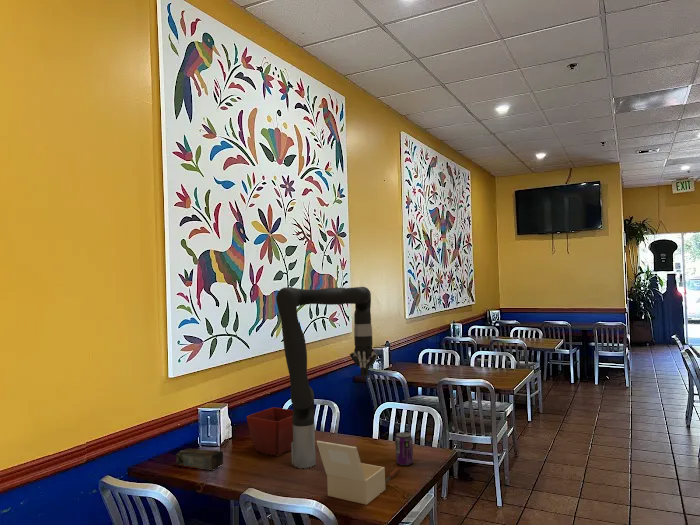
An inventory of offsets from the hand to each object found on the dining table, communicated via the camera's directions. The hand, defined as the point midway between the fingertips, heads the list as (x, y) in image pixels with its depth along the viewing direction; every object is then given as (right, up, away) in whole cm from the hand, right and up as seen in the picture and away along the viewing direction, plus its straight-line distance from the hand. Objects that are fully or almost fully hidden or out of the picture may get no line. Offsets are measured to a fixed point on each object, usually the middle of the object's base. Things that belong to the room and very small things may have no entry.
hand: (364, 376), depth 209 cm
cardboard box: (-4, -36, -27) cm, 45 cm away
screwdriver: (+10, -37, -14) cm, 41 cm away
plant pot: (-40, -40, +23) cm, 61 cm away
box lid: (-9, -21, -34) cm, 41 cm away
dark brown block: (-70, -40, +6) cm, 81 cm away
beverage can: (+17, -37, +1) cm, 40 cm away
